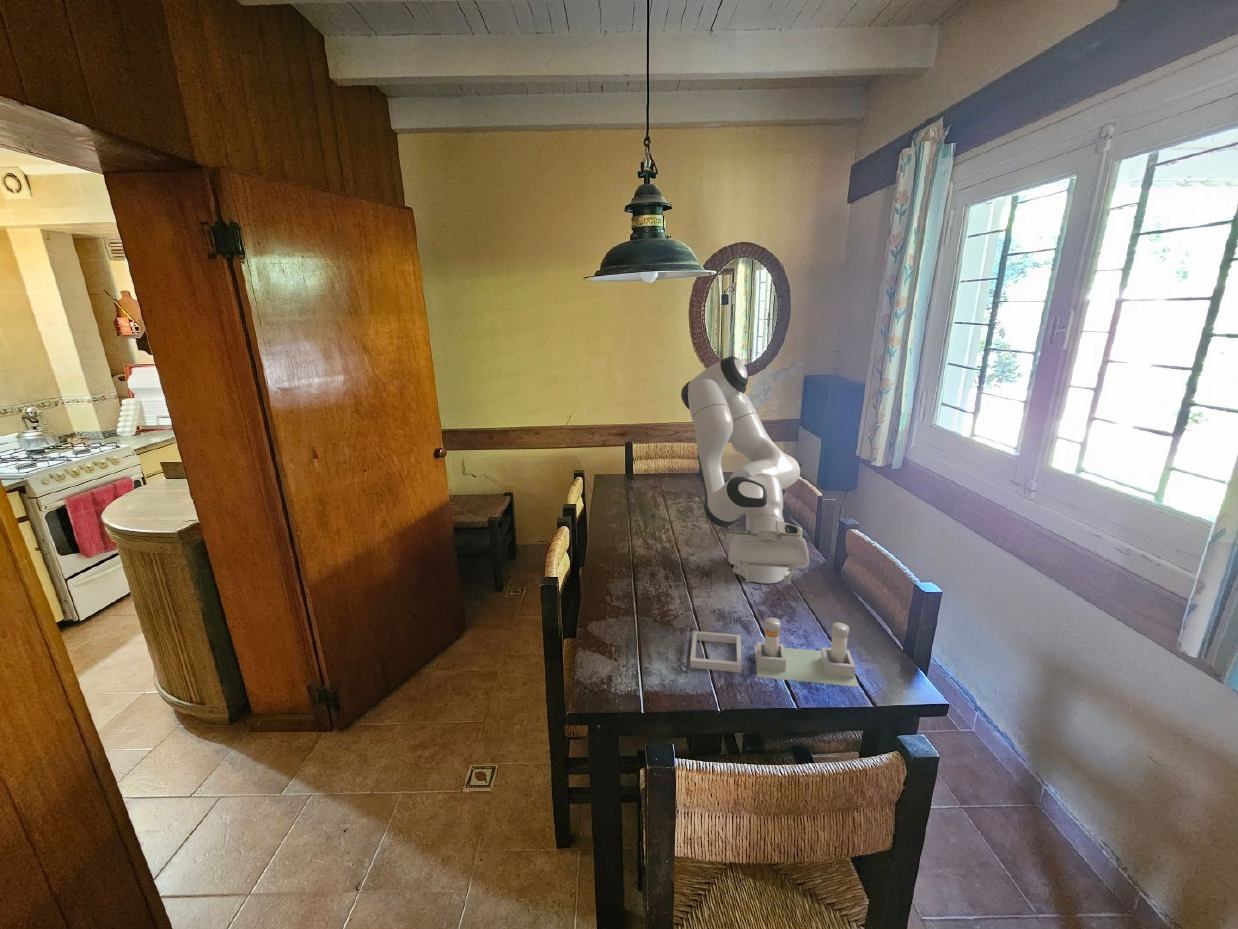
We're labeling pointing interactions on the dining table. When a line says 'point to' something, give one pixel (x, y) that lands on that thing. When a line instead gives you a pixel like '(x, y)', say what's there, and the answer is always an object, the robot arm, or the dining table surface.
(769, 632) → the orange-banded cylinder plug
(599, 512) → the dining table surface
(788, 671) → the fuse board
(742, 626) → the dining table surface
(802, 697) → the dining table surface
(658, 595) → the dining table surface
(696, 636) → the parts tray
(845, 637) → the peg
